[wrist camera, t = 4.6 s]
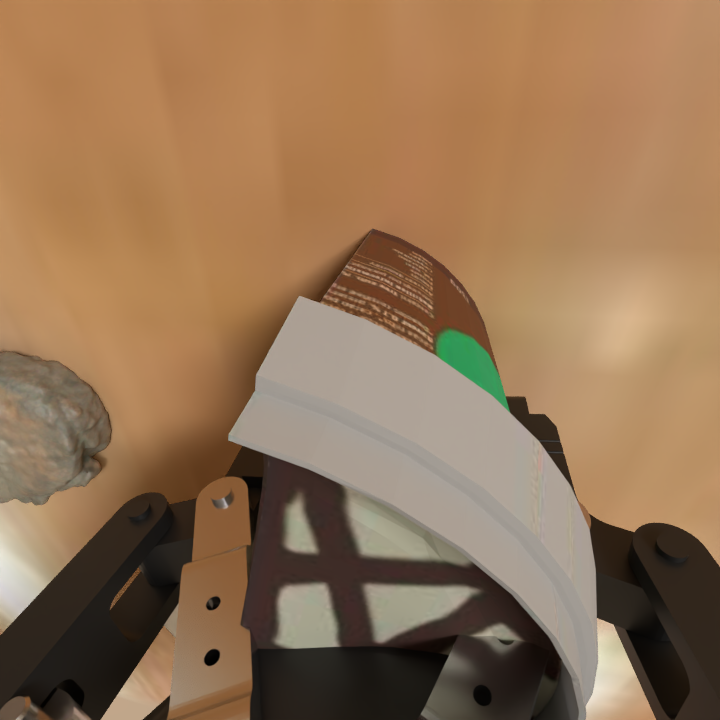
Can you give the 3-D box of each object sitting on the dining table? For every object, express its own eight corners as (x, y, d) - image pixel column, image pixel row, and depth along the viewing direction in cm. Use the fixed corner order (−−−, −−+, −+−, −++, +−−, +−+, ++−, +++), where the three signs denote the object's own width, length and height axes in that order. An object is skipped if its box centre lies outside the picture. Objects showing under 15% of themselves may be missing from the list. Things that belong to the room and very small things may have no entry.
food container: (456, 517, 19) (456, 867, 11) (315, 476, 19) (206, 786, 11) (607, 234, 12) (942, 595, 4) (384, 175, 12) (230, 392, 4)
